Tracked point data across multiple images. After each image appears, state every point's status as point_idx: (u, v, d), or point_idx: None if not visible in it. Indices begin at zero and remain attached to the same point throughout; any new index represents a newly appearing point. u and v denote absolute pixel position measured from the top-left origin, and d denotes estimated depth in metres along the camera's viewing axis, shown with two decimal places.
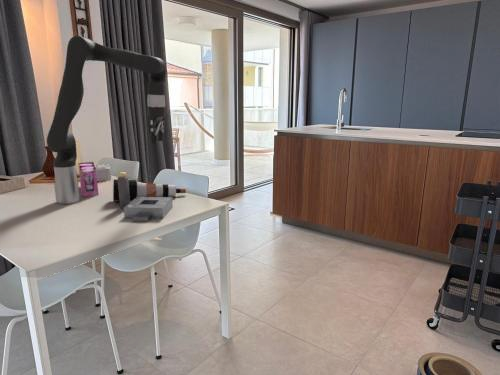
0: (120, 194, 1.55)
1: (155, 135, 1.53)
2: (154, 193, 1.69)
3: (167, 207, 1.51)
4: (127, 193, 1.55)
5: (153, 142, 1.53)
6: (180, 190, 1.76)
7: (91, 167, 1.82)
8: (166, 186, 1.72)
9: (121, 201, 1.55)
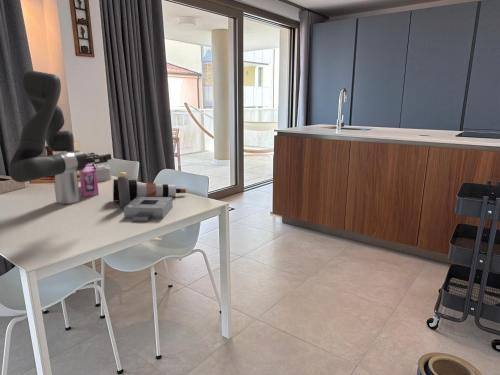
0: (120, 194, 1.55)
1: None
2: (154, 193, 1.69)
3: (167, 207, 1.51)
4: (127, 193, 1.55)
5: None
6: (180, 190, 1.76)
7: (91, 167, 1.82)
8: (166, 186, 1.72)
9: (121, 201, 1.55)
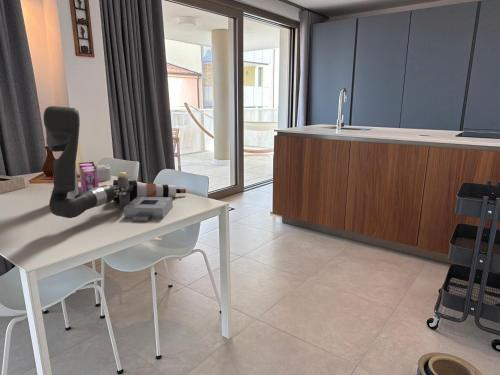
0: None
1: None
2: (154, 193, 1.68)
3: (167, 207, 1.51)
4: None
5: None
6: (180, 190, 1.76)
7: (92, 167, 1.82)
8: (166, 186, 1.72)
9: (121, 201, 1.55)
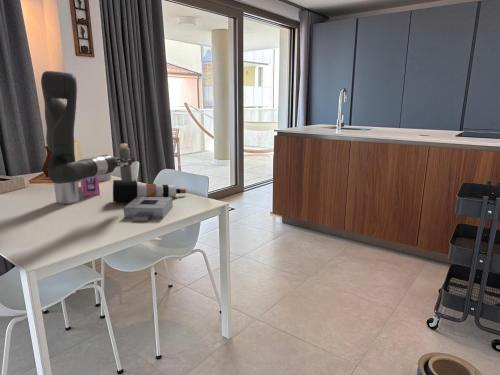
0: (121, 166, 1.50)
1: None
2: (154, 193, 1.68)
3: (167, 207, 1.51)
4: None
5: None
6: (180, 190, 1.75)
7: None
8: (166, 186, 1.71)
9: (122, 173, 1.51)
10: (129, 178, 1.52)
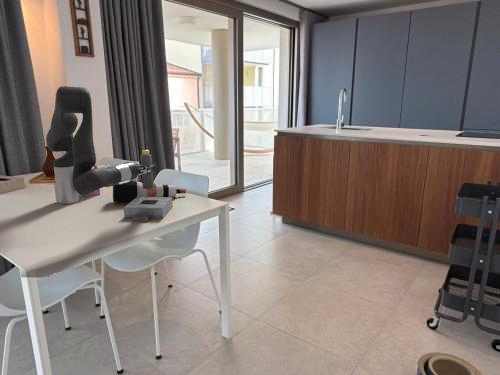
0: None
1: None
2: (154, 194, 1.68)
3: (167, 207, 1.51)
4: None
5: None
6: (180, 190, 1.75)
7: (92, 167, 1.83)
8: (166, 186, 1.71)
9: (144, 180, 1.46)
10: (151, 185, 1.48)
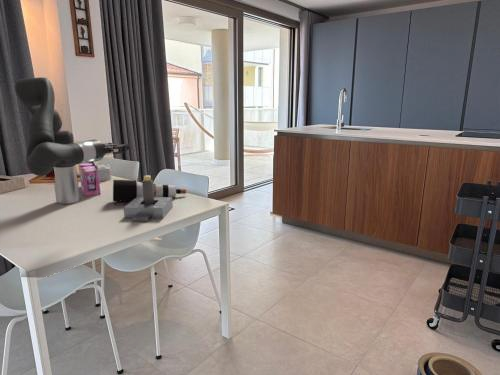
0: (145, 198, 1.48)
1: None
2: (154, 194, 1.68)
3: (167, 207, 1.51)
4: (152, 197, 1.49)
5: None
6: (180, 191, 1.75)
7: (92, 167, 1.83)
8: (166, 186, 1.71)
9: None
10: None
